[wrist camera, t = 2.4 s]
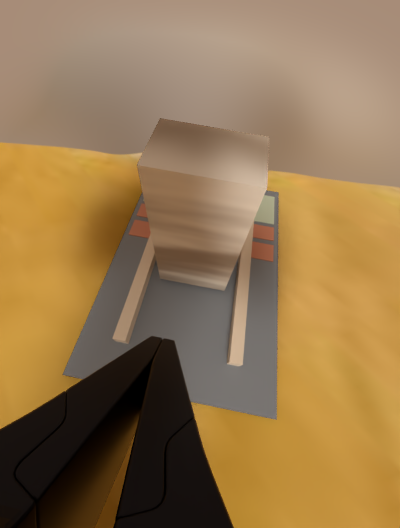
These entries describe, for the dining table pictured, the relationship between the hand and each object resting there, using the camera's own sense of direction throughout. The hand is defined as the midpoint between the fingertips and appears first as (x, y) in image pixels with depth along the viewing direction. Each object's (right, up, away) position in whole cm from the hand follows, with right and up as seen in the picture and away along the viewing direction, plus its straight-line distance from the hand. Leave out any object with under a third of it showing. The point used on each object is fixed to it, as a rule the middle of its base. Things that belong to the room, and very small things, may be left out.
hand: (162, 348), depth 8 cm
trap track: (+1, +2, +14) cm, 14 cm away
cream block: (+1, +3, +14) cm, 14 cm away
